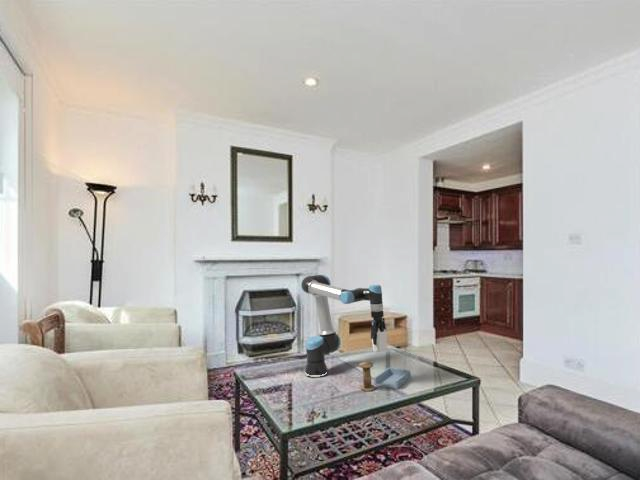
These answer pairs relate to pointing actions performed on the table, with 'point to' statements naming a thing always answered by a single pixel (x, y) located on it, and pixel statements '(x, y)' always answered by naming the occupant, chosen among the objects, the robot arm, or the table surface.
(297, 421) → the table surface
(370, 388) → the bobbin post
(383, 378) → the blue grey tray
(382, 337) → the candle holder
